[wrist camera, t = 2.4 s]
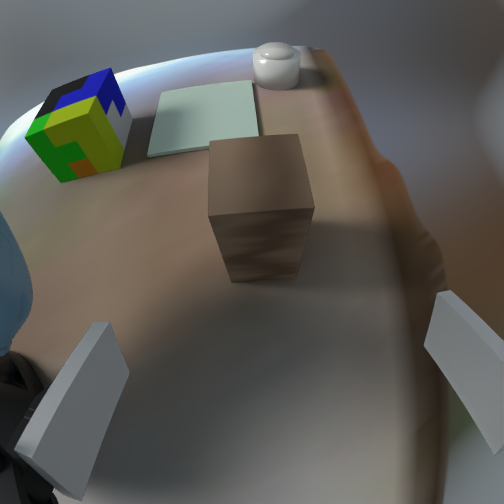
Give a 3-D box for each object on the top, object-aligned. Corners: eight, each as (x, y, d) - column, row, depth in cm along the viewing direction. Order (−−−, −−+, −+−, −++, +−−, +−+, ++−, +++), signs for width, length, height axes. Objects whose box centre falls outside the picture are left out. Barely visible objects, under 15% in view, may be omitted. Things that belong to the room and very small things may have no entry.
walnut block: (231, 282, 27) (208, 216, 16) (229, 225, 30) (209, 140, 19) (296, 277, 27) (314, 207, 16) (288, 220, 30) (297, 133, 19)
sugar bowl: (256, 92, 39) (254, 60, 34) (252, 69, 42) (250, 40, 36) (302, 90, 39) (305, 58, 34) (294, 68, 42) (296, 39, 36)
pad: (148, 157, 34) (147, 154, 34) (162, 95, 40) (161, 92, 39) (259, 144, 34) (259, 140, 34) (251, 83, 40) (251, 80, 39)
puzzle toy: (132, 119, 38) (110, 67, 29) (120, 168, 34) (87, 113, 25) (78, 134, 38) (51, 90, 29) (61, 183, 34) (24, 137, 25)
